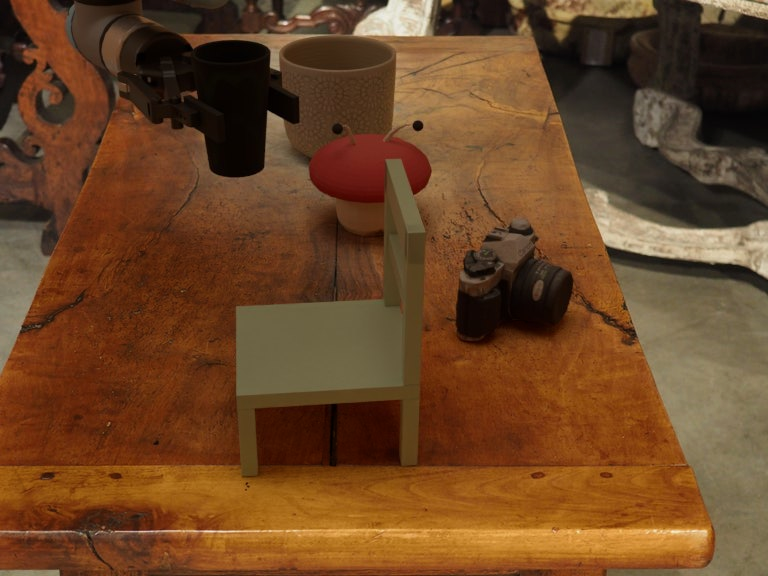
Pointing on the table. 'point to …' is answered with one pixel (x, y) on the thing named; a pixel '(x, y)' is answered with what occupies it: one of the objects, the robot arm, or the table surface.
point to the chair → (342, 339)
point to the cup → (235, 102)
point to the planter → (338, 88)
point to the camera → (509, 283)
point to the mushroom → (365, 175)
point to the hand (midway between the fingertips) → (259, 119)
